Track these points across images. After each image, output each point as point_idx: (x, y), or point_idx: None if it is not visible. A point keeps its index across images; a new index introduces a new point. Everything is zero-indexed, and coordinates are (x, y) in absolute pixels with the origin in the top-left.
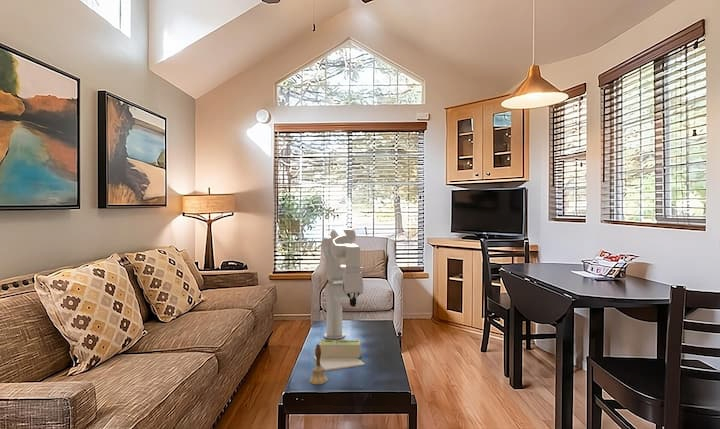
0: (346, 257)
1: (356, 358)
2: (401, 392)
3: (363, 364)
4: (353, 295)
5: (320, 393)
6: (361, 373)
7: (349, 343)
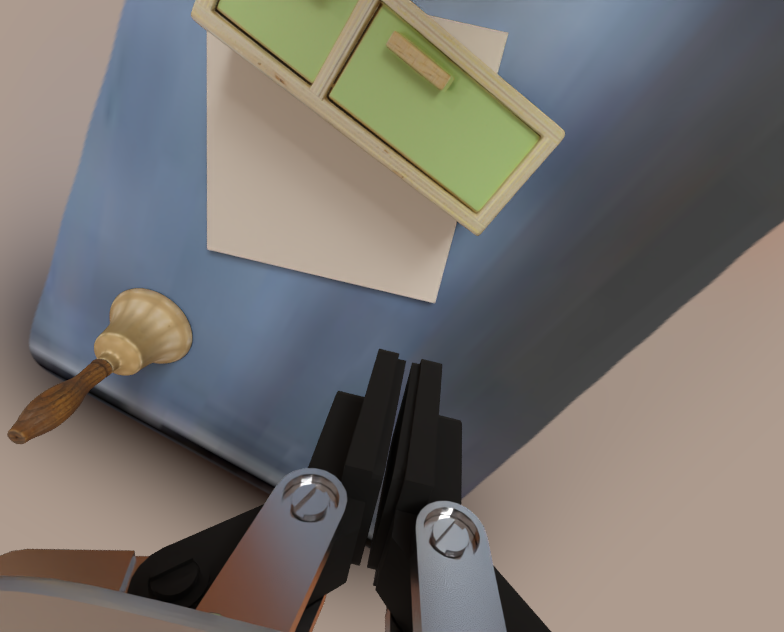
0: None
1: None
2: None
3: (429, 300)
4: (410, 576)
5: (133, 418)
6: (359, 369)
7: (439, 142)
